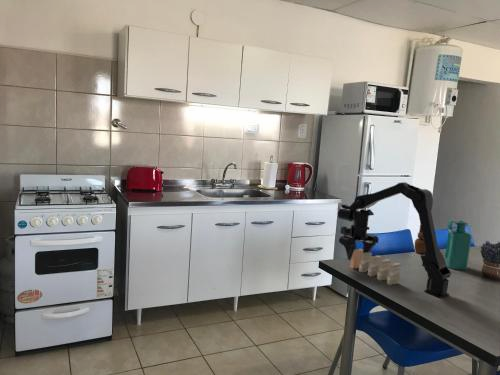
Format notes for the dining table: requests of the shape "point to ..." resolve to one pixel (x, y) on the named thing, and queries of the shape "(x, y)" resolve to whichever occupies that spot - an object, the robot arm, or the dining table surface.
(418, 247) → the wooden figurine
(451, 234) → the teal tall bottle
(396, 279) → the domino
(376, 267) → the domino
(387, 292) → the dining table surface
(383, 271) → the domino
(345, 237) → the robot arm
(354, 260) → the domino
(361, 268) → the domino
